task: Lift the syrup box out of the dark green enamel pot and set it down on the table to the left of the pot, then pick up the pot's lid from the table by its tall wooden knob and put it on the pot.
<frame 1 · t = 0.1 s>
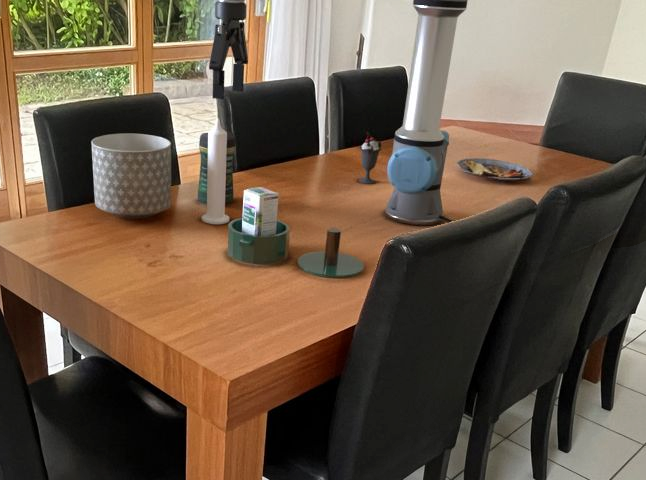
hand: (228, 94, 189), 28 cm above the table, tool pointing down, fingers open, 13 cm apart
food plate: (492, 175, 245), on the table
coffee jar: (215, 202, 204), on the table
white syringe: (215, 220, 190), on the table
syrup box: (257, 255, 169), resting on pot
planter: (133, 215, 190), on the table
pot: (257, 255, 169), on the table
sundae: (366, 182, 230), on the table
pot lid: (330, 265, 164), point 1 cm above the table
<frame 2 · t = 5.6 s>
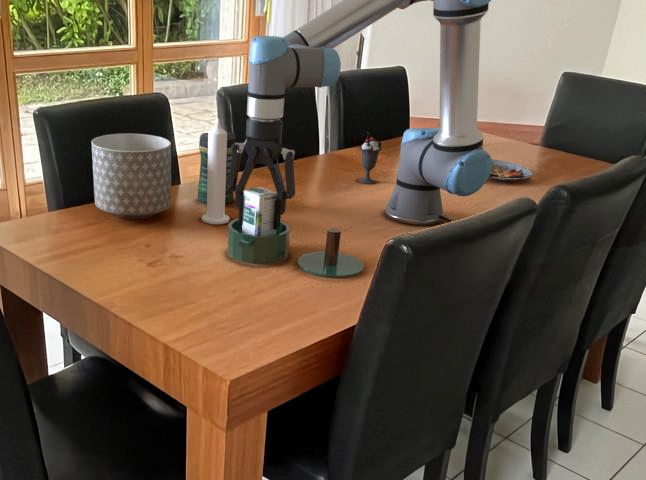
hand: (259, 225, 165), 7 cm above the table, tool pointing down, fingers closed on syrup box, 7 cm apart
syrup box: (257, 255, 169), resting on pot, touching gripper
everything else where it was.
when the fingers open (7 cm above the table, at t = 12.4 s): syrup box stays where it is, on the table.
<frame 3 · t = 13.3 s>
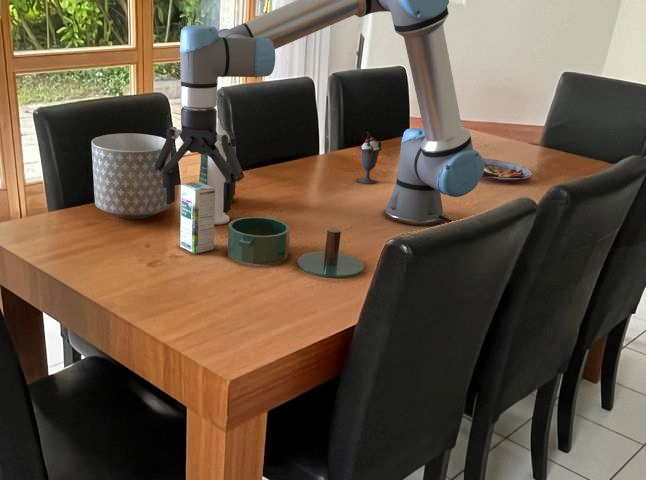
hand: (198, 206, 166), 10 cm above the table, tool pointing down, fingers open, 13 cm apart
syrup box: (197, 249, 171), on the table
everything else where it was.
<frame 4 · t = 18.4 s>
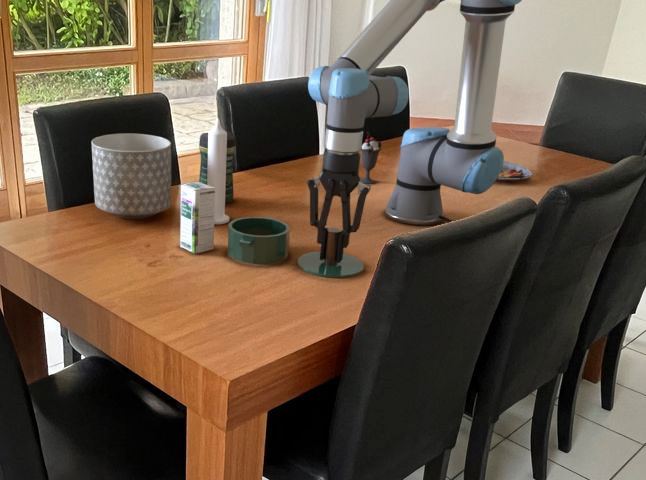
hand: (331, 259, 163), 2 cm above the table, tool pointing down, fingers closed on pot lid, 3 cm apart
pot lid: (330, 265, 164), point 1 cm above the table, touching gripper
everything else where it was.
when the fingers open (8 cm above the table, at t = 24.2 s): pot lid stays where it is, resting on pot.
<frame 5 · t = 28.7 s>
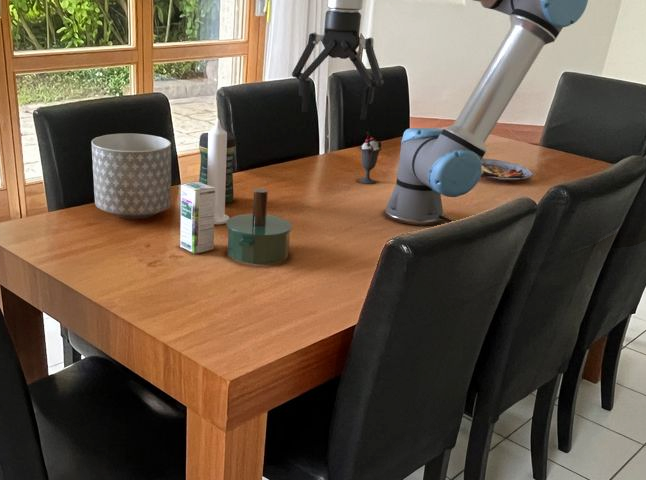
hand: (333, 115, 168), 29 cm above the table, tool pointing down, fingers open, 13 cm apart
pot lid: (258, 226, 166), point 7 cm above the table, touching pot
everything else where it was.
at the end: syrup box inside the target area (0.0 cm from its centre), on the table; pot lid 0.1 cm off-centre on the pot, point 6.8 cm above the pot's base; pot lid tilted 0° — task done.
